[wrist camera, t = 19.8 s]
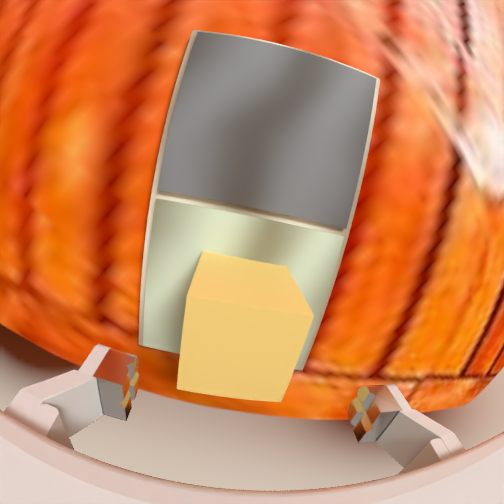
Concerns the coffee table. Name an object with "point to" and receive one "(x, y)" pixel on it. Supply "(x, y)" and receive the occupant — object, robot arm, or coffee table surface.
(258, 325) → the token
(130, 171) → the coffee table surface
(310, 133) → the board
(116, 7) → the coffee table surface
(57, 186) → the coffee table surface
